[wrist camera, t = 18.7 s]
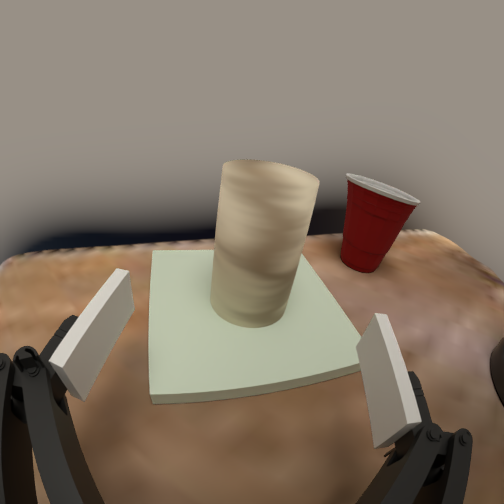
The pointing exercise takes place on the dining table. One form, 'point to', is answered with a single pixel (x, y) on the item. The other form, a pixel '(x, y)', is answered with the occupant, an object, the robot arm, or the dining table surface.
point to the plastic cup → (372, 221)
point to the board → (239, 336)
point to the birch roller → (259, 239)
